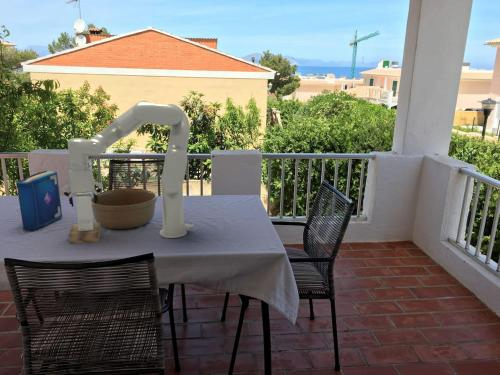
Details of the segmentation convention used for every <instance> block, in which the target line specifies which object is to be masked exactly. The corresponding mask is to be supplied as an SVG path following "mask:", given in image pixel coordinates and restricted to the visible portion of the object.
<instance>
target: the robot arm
mask: <svg viewBox="0 0 500 375" xmlns="http://www.w3.org/2000/svg"><path fill="white" fill-rule="evenodd" d="M145 124H150V125H159V126H167V127H169V126H170V130H169V131H170V132H169V138H168V143H167V148H166V152H165V156H164V162H163V169H162V173H161V176H160V186H161V206H162V207H161V210H162V228H161V229H160V231H159V235H160V236H161V237H162V238H166V239H176V238H177V239H178V238H182V237H184V236H186V235H187V233H188V229H194V226H195V225H194V224H193V223H191V224H190V223H184V192H183V191H184V190H183V189H184V188H183V187H184V185H183V184H184V180H185V178H186V177H185V175H186V171H187V166H188V165H187V164H188V153H187V152H188V147H189V146H188V145H189V139H190V130H191V128H190V121H189V118H188V116H187V115H186V113H185V111H184V110H183V109H182V108H180V106H178V105H177V104H174V103H168V104H159V103H153V102H150V101H146V100H141V101H138V102H137V103H136V104H134V105H133V106H132V107H130V108H129V109H127V110H126V111H125V112H123V113H122V114H121V115H119V116H118V117H117V118H115V119H114V120H113V121H112V122H111V123H110V124H109V125H108V126H107V127H105V128H104V129H102V130H101V131H99V132H98V133H97V134H96V135H94V136H92V137H90V138H88V139H86V138H83V137H75V138H74V137H73V138H70V139H68V141H67V148H68V156H69V157H68V158H69V165H70V169H69V170H68V183H66V184H64V186H62V187H61V188H60V191H61V192H62V193H63V195H64V196H65V197H67V198H68V200H69V205H71V207H74V201H73V200H74V199H73V195H74V194H81V193H93V202H94V204H96V205H97V202H99V198H98V195H99V193H100V192H101V191H102V188H103V187H104V185H103V183H101V182H99V181H95V180H94V174H93V171H92V168H90V167H94V165H93V163H91V162H90V161H89V157H90V156H91V157H98V156H100V155H102V154H103V153H104V152H105V151H106V150H107V149H108V148H110V147H111V146H112V145H114V144H116V142H118V141H119V140H121V139H123V138H126V137H128V136H129V135H130V134H132V133H134V132H135V131H136V130H137V129H139V128H140V127H141V126H143V125H145ZM95 186H98V188H97V189H96V188H95ZM68 188H69V192H67V191H66V189H68Z"/></svg>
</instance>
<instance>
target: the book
mask: <svg viewBox="0 0 500 375" xmlns="http://www.w3.org/2000/svg"><path fill="white" fill-rule="evenodd" d="M15 184H16V190H17V196H18V202H19V209H20V215H21V216H20V217H21V221H22V227H23V229H24V230H26V231H28V232H29V231H32V232H34V231H36V230H38V229H41V228H45V227H46V226H48V225H50V224H53V223H54V222H56V221H57V220H59V219H61V218H62V217H63V213H62V212H63V211H62V204H61V195H60V194H61V193H60V188H59V187H60V186H59V178H58V173H57V171H52V170H49V171H47V170H43V171H41V172H40V171H39V172H37V173H33V174H31V175H28V176H26V177H25V178H24V179H21V180H18V181H17V182H16V183H15Z"/></svg>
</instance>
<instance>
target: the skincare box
mask: <svg viewBox="0 0 500 375" xmlns="http://www.w3.org/2000/svg"><path fill="white" fill-rule="evenodd" d="M75 194H76V195H75V206H76V219H77V224H78V231H91V230H93V223H94V212H93V211H94V210H93V202H92V201H93V198H92V192H83V193H75Z"/></svg>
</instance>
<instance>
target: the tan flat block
mask: <svg viewBox="0 0 500 375" xmlns="http://www.w3.org/2000/svg"><path fill="white" fill-rule="evenodd" d="M101 230H102V229H101V222H96V223H94V222H93V230H91V231H78V223H77V224H71V228H70V230H69V232H68V239H69V240H68V241H69V245H70V244H71V245H73V244H74V245H75V244H84V243H85V244H86V243H99V242H100V238H101V232H102V231H101Z"/></svg>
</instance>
